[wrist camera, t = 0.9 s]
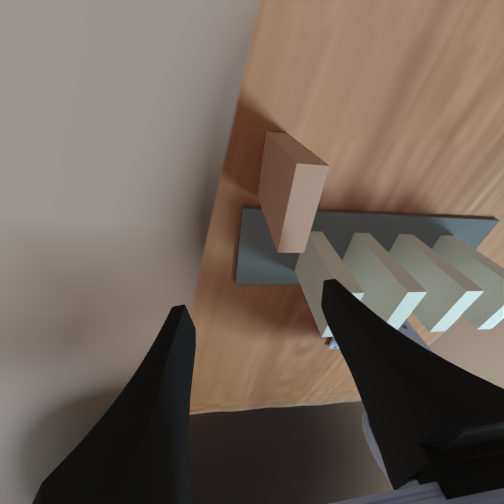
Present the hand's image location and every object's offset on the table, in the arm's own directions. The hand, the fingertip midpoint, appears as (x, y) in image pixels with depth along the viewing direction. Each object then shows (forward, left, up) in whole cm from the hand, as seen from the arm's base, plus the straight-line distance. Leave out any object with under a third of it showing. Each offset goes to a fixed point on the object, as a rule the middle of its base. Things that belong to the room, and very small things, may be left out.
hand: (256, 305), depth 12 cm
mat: (-14, +4, -10) cm, 18 cm away
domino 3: (-17, +4, -10) cm, 20 cm away
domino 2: (-12, +4, -10) cm, 16 cm away
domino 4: (-22, +4, -10) cm, 25 cm away
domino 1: (-7, +4, -10) cm, 13 cm away
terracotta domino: (-2, -4, -10) cm, 11 cm away
